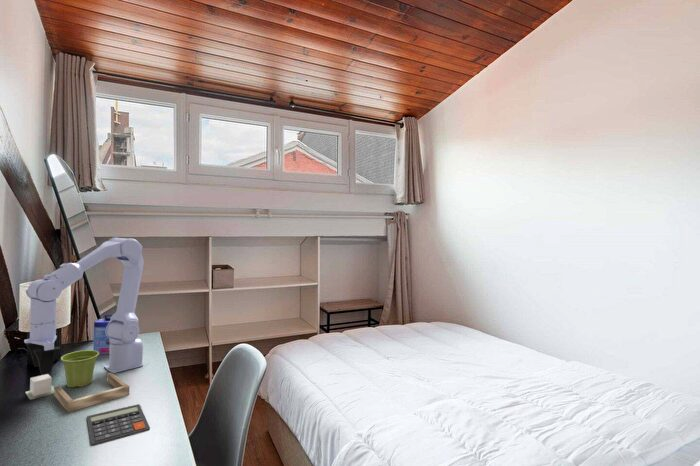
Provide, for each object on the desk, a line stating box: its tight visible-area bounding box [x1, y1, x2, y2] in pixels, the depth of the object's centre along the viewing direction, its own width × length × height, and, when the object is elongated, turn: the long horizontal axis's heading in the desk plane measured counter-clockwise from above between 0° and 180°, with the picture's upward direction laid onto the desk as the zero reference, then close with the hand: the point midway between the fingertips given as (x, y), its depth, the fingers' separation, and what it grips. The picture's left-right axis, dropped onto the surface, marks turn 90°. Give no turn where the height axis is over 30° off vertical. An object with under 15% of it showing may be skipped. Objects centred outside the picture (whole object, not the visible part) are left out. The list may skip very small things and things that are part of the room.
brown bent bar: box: [25, 372, 130, 413], centre depth 106 cm, size 19×21×2 cm
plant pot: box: [60, 349, 100, 388], centre depth 113 cm, size 9×9×9 cm
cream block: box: [29, 373, 53, 396], centre depth 106 cm, size 4×4×4 cm
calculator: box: [86, 403, 151, 447], centre depth 91 cm, size 12×1×15 cm
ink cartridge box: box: [92, 314, 113, 355], centre depth 141 cm, size 10×6×14 cm, turn 104°
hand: (42, 369), depth 106 cm, fingers open, 7 cm apart
